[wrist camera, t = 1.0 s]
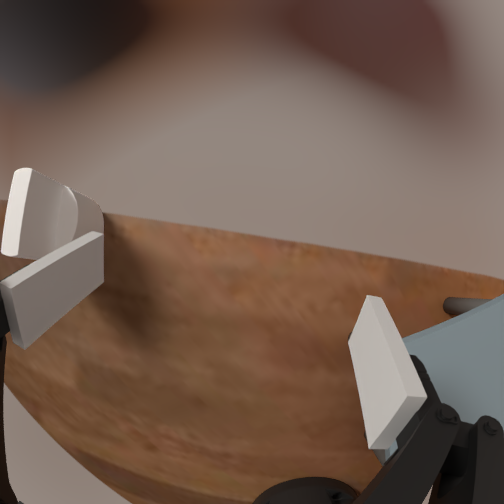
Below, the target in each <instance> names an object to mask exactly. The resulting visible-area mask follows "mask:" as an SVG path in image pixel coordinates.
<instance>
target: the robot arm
mask: <svg viewBox="0 0 504 504" xmlns="http://www.w3.org/2000/svg"><path fill="white" fill-rule="evenodd" d="M102 283H104V234H102V233H98V232H94V231H91V232H89V233H87V234H85V235H83V236H81V237H80V238H78V239H76V240H74V241H72V242H70V243H68V244H66V245H64V246H62V247H60V248H59V249H57V250H55V251H53V252H51V253H49V254H48V255H46V256H44V257H42V258H40V259H39V260H37V261H35V262H33V263H31V264H29V265H26V266H25V267H23V268H21V269H20V270H19V271H16V272H14V273H13V275H12V274H11V275H9V276H8V277H6V278H4V279H3V280H1V281H0V504H23V503H22V502H21V501H19V502H18V501H17V498H16V496H15V494H14V492H13V490H12V488H11V486H10V483H9V479H8V471H7V463H6V454H5V442H4V426H3V425H4V424H3V386H4V367H5V355H6V345H7V341H6V337H5V334H7V333H8V332H9V331H10V333H11V336H12V340H13V343H15V344H16V345H18V346H20V347H21V348H23V349H26V348H28V347H29V346H30V345H31V344H32V343H33V342H34V341H35V340H36V339H38V338H39V337H40V336H41V335H42V334H43V333H44V332H45V331H47V330H48V329H49V328H50V327H51V326H52V325H53V324H55V323H56V322H57V321H58V320H59V319H60V318H61V317H63V316H64V315H65V314H66V313H67V312H68V311H70V310H71V309H72V308H73V307H74V306H76V305H77V304H78V303H79V302H80V301H82V300H83V299H84V298H85V297H86V296H88V295H89V294H90V293H91V292H92V291H94V290H95V289H96V288H97V287H99V286H100V285H101V284H102ZM348 344H349V348H350V353H351V357H352V362H353V367H354V371H355V376H356V381H357V386H358V391H359V396H360V401H361V407H362V412H363V418H364V423H365V429H366V435H367V441H368V448H369V449H388V448H389V447H390V446H391V445H392V443H393V442H394V441H395V440H396V442H397V446H398V448H397V449H396V451H395V452H394V453H393V454H392V455H391V456H390V457H389V458H388V460H387V461H386V462H385V463H384V466H383V467H382V469H381V470H380V471H379V473H378V474H377V475H376V476H375V478H374V479H373V480H372V481H371V482H370V484H369V485H368V486H367V487H366V488H365V490H364V491H363V492H362V493H361V494H360V495H359V496H358V498H357V495H356V493H355V492H354V490H353V489H352V488H351V487H349V486H348V485H347V484H345V483H343V482H341V481H338V480H335V479H330V478H323V477H306V478H299V479H293V480H289V481H286V482H283V483H280V484H278V485H275V486H273V487H271V488H269V489H268V490H266V491H264V492H263V493H262V494H261V495H259V496H258V497H257V498H256V500H255V501H254V502H253V504H422V502H423V501H424V499H425V497H426V496H427V494H428V492H429V490H430V489H431V487H432V485H433V487H432V491H431V495H430V499H429V503H428V504H504V431H503V427H502V426H501V424H500V422H499V421H497V419H495V418H493V417H491V416H487V415H484V416H481V417H480V418H479V419H478V420H477V422H476V423H475V424H471V423H467V422H463V421H461V420H460V417H459V414H458V413H457V412H456V410H455V409H454V408H452V407H451V406H449V405H447V404H445V403H441V401H440V399H439V397H438V394H437V392H436V390H435V388H434V385H433V383H432V381H430V377H429V375H428V374H427V370H426V368H425V366H424V364H423V363H422V362H421V361H420V360H419V359H418V357H417V356H416V355H409V353H408V351H407V349H406V347H405V345H404V342H403V340H402V338H401V336H400V334H399V332H398V330H397V328H396V326H395V324H394V322H393V320H392V318H391V316H390V314H389V312H388V310H387V308H386V306H385V304H384V302H383V300H382V298H380V297H375V296H370V295H367V297H366V299H365V302H364V304H363V307H362V310H361V312H360V315H359V317H358V320H357V322H356V325H355V327H354V329H353V332H352V334H351V337H350V339H349V341H348Z"/></svg>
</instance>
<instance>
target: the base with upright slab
mask: <svg viewBox="0 0 504 504" xmlns="http://www.w3.org/2000/svg"><path fill="white" fill-rule="evenodd" d="M91 231H94V232H98V233H102V234H103V232H104V219H103V214H102V211H101V209H100V207H99V205H98V204H97V203H96V202H95V201H94V200H93V199H91V198H89V197H87V196H85V195H83V194H81V193H79V192H77V191H75V190H73V189H71V188H69V187H67V186H65V185H63V184H61V183H59V182H57V181H55V180H53V179H51V178H49V177H47V176H45V175H43V174H41V173H39V172H37V171H35V170H33V169H31V168H21V169H19V170H16V171H15V172H14V176H13V181H12V185H11V190H10V195H9V200H8V205H7V211H6V217H5V223H4V230H3V238H2V247H1V253H2V254H4V255H7V256H11V257H19V258H26V259H34V260H39V259H40V258H42V257H44V256H46V255H48V254H49V253H51V252H53V251H55V250H57V249H59V248H60V247H62V246H64V245H66V244H68V243H70V242H72V241H74V240H76V239H78V238H80V237H81V236H83V235H85V234H87V233H89V232H91Z"/></svg>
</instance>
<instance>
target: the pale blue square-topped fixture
mask: <svg viewBox="0 0 504 504" xmlns="http://www.w3.org/2000/svg"><path fill="white" fill-rule="evenodd" d="M443 308H444V311H445V312H446V313H450V314H456V315H459V316H457V317H454V318H452V319H450V320H447V321H445V322H443V323H440V324H438V325H435V326H433V327H430V328H428V329H425V330H423V331H420V332H418V333H415V334H413V335H410V336H407V337H405V338H402V340H403V342H404V345H405V347H406V349H407V351H408V353H409V355H416V356H417V357H418V359H419V360H420V361H421V362H422V363H423V364H424V366H425V368H426V370H427V374H428V375H429V377H430V381H432V383H433V385H434V388H435V390H436V392H437V394H438V397H439V399H440V401H441V403H445V404H447V405H449V406H451V407H452V408H454V409H455V410H456V412H457V413H458V414H459V417H460V420H461V421H463V422H467V423H471V424H475V423H476V422H477V420H478V419H479V418H480V417H481V416H484V415H487V416H491V417H493V418H495V419H497V421H499V422H500V424H501V426H502V427H503V431H504V294H503V295H501V296H499V297H497V298H495V299H493V300H491V299H472V298H455V297H448V298H447V299H446V300H445V301H444V304H443ZM352 332H353V331H352ZM352 332H351V333H350V334H349V337H348V341H349V339H350V337H351V334H352ZM364 437H365V439H366V440H367V435H366V431H365V434H364ZM367 442H368V441H367ZM397 448H398V446H397V442H396V440H395V441H394V442H393V443H392V445H391V446H390V447H389V448H388V449H372V450H373V452H374V453H375V455H376V456H377V458H378V460H379V461H380V463H381V464H382V466H384V463H385V462H386V461H387V460H388V458H389V457H390V456H391V455H392V454H393V453H394V452H395V451H396V449H397Z"/></svg>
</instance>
